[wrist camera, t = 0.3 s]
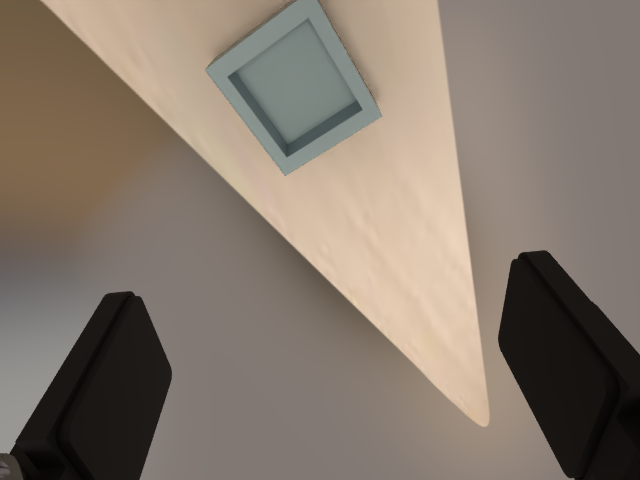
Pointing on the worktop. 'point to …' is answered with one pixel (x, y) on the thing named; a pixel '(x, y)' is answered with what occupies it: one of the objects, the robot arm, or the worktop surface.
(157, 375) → the robot arm
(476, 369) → the worktop surface
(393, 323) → the worktop surface
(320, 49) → the holder
